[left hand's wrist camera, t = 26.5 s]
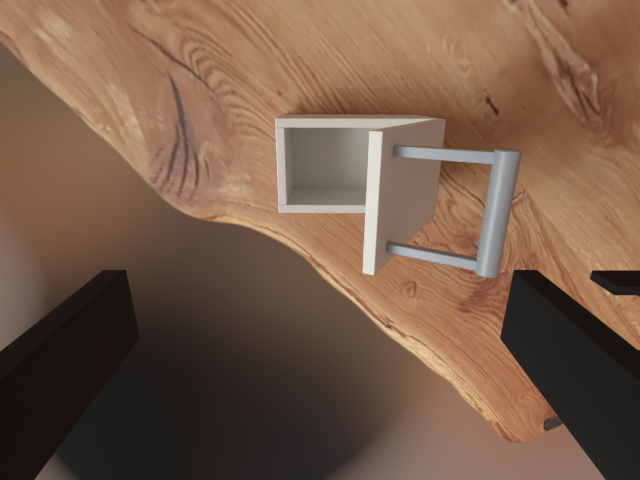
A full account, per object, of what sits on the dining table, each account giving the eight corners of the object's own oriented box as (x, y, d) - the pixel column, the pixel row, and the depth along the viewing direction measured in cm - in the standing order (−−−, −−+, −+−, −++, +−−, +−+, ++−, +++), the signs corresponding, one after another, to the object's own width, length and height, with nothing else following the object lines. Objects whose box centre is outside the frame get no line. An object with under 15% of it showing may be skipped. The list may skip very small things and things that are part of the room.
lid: (362, 273, 26) (490, 304, 22) (368, 130, 23) (522, 137, 19) (426, 214, 39) (513, 227, 35) (436, 118, 36) (534, 121, 32)
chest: (286, 192, 48) (278, 212, 40) (283, 114, 45) (275, 118, 36) (409, 192, 48) (429, 213, 40) (416, 114, 45) (439, 118, 36)
